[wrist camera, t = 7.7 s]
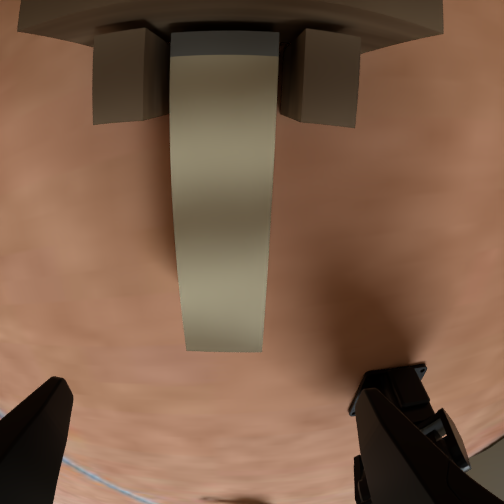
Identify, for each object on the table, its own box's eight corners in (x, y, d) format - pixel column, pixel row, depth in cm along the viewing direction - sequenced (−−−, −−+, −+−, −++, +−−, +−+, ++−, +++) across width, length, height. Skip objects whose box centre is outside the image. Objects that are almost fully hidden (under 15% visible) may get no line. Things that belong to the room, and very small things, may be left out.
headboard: (356, 121, 16) (435, 145, 9) (102, 117, 15) (16, 140, 8) (362, 29, 14) (442, -4, 6) (104, 25, 13) (22, -6, 6)
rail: (257, 298, 21) (261, 352, 17) (196, 297, 21) (186, 350, 16) (268, 50, 14) (279, 32, 10) (190, 50, 14) (171, 32, 10)
